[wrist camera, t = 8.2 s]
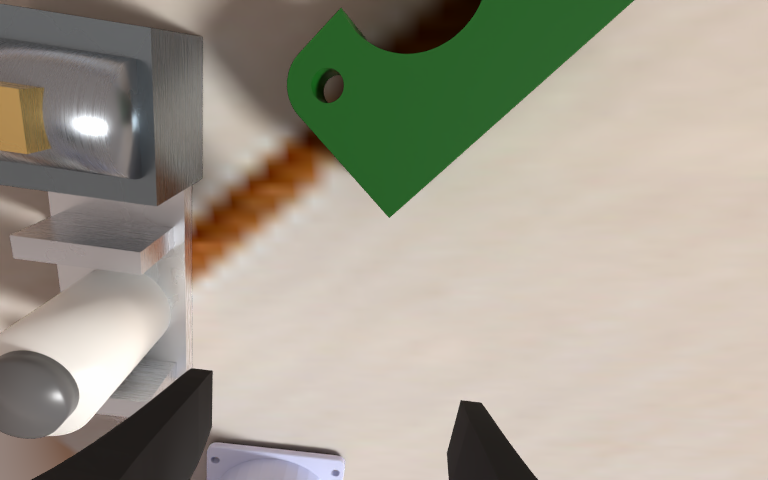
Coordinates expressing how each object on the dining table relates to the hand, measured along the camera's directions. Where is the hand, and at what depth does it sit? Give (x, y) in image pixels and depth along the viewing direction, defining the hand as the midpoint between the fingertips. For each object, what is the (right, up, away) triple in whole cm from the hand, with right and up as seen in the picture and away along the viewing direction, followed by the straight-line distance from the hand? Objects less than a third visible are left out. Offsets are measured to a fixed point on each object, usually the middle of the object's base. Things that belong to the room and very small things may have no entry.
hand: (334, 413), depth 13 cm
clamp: (+4, +13, +6) cm, 15 cm away
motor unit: (-11, +6, +8) cm, 15 cm away
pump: (-11, +2, +9) cm, 15 cm away
